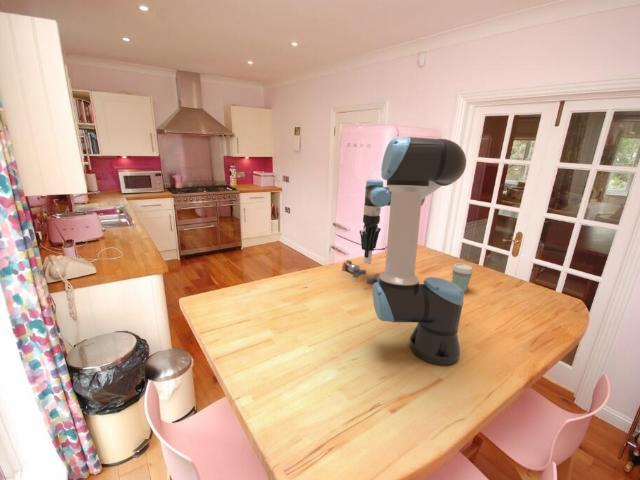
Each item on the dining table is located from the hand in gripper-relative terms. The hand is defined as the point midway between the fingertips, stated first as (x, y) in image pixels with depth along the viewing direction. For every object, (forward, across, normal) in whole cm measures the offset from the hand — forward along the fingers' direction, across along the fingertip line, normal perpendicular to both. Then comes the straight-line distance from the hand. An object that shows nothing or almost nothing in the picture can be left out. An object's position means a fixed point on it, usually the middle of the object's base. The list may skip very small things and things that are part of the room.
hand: (367, 263), depth 142 cm
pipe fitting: (+9, 0, 0) cm, 9 cm away
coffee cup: (+9, +25, -34) cm, 43 cm away
